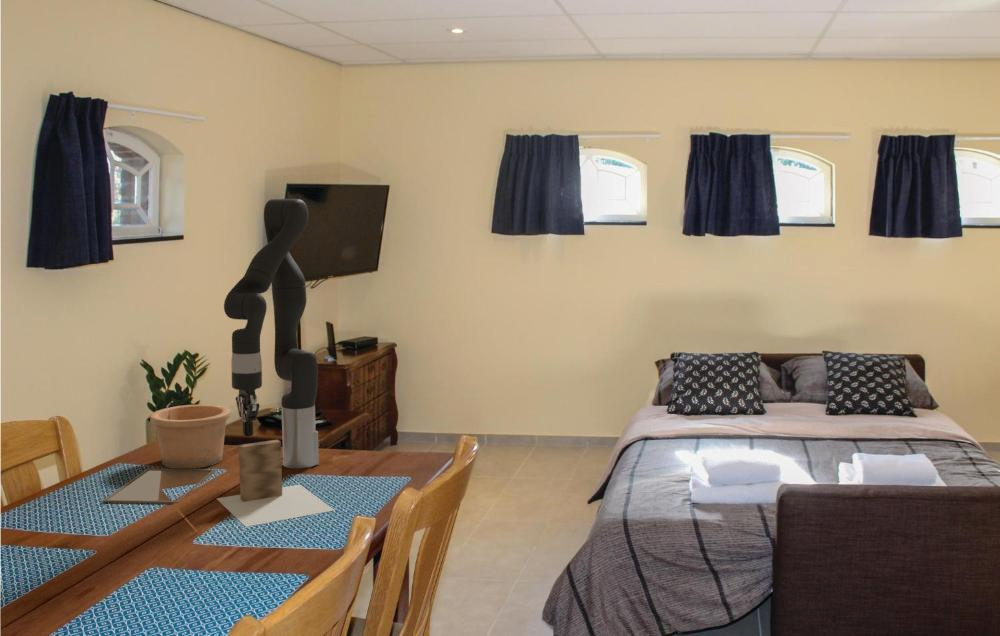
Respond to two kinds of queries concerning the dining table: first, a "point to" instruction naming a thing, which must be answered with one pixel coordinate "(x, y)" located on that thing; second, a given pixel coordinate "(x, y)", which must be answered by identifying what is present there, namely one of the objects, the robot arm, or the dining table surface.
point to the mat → (275, 506)
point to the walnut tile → (260, 470)
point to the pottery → (190, 435)
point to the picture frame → (157, 485)
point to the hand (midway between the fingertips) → (248, 435)
